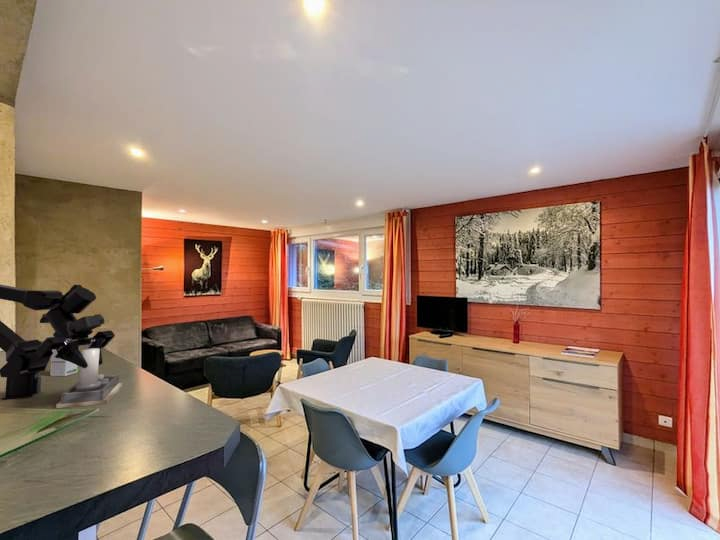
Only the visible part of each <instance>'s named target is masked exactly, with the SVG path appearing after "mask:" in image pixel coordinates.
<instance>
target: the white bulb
mask: <svg viewBox="0 0 720 540" xmlns="http://www.w3.org/2000/svg"><path fill="white" fill-rule="evenodd" d="M99 353H100V349H99V348H89V349H86V348H83V349H82V350H81V354H82V356H83V357H84V359H85V360H86V362H87V365H88V366H87V367H86V368H82V367H80V370H79V371H80V374H79V381H80V383H78V382H76V383H77V384H76V383H75V384H76V389H75V391H79V392H84V391H92V390H96V389H99V388H100V387H101V381H98V374H99V366H100V365H99Z"/></svg>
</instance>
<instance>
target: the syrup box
mask: <svg viewBox="0 0 720 540" xmlns="http://www.w3.org/2000/svg"><path fill="white" fill-rule="evenodd" d="M51 337H54V336H53V335H52V336H51ZM78 349H79V351H80V352H81V346H78ZM52 352H53V354H52V356H51V357H50V377H67V376H70V375H74V374H78V373H79V371H80V366H78V365H76V364H73V363H71V362H69V361H66V360H63V359H60V358H55V356H56V355H57V354H58V353H57V350H56V349H54V350H52Z"/></svg>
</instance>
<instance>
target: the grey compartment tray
mask: <svg viewBox="0 0 720 540" xmlns="http://www.w3.org/2000/svg"><path fill="white" fill-rule="evenodd" d="M98 381H101V387H100V388H99V389H96V390H92V391H84V392H79V391H75V389H76V384H77V383H80V380H79V381H78V382H76V383H75V384H74V385H72V386H71V387H70V388H68V389H67V390H66V391H64V392H63V393H61V398H60V401H58V403H56V404H55V405H56V407H55V408H56V409H63V408H72V407H75V408H76V407H85V406H95V405H105V404H106V403H107V404H108V403H109V402H110V400H112V398H113V397H114V396H115V395H114V394H116V393H117V392H118V391H119V390H120V389H121V388H122V386H123V382H120V375H116V374H115V375H106V376H105V374H103V373H98ZM120 387H121V388H120ZM119 388H120V389H119Z"/></svg>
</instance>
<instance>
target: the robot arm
mask: <svg viewBox="0 0 720 540" xmlns="http://www.w3.org/2000/svg"><path fill="white" fill-rule="evenodd" d="M96 299H97V296H96V294H95V293H94V292H93V291H91V290H89V289H88V288H85V287H84V286H82V285H81V284H73V285H71V287H70V289H69V290H68V291H67V292H66V293H64V294H63V292H62V291H60V290H55V289H53V290H34V289H33V290H32V289H27V288H22V287H16V286H11V285H6V284H0V300H4V301H9V302H15V303H19V304H22V306H24V307H25V308H28V309H30V310H33V311H47V312H46V313H43V314H42V316H41V318H40V319H39V324H50V326H51V327H52V329H53V330H54V332H53V333H52V336H54V337H52V336H51V337H49V336H48V337H46V338H45V339H44V340H43V341H42V342H41V340H39V339H31V340H25V339H23V338H22V336H20V335H19V334H17V332H15V331H14V330H12V328H10V327H9V326H7V324H5V323H4V322H3V321H2V320H0V349H1V350H2V351H3V352H5V361H6V362H5V364H4V365H3V366H2V367H1V368H0V378H6V383H5V395H4V396H3V397H1V400H11V399H24V398H32V397H34V396H35V395H37V394H38V393H40V392H41V388H42V387H41V386H42V377H41V376H40V372H44V371H45V370H46V369H47V366H48V364H49V362H50V361H51V356H52V354H53V352H52V350H54V349H56V350H57V353H58V354H57V355H56V356H55V358H60V359H63V360H66V361H69V362H71V363H73V364H76V365H78V366H79V368H81V367H82V368H86V367H87V366H88V365H87V362H86V360H85V359H84V357H83V356H82V351H81V350H80V351H79V349H78V346H80V347H85V349H89V348H99V349H100V353H99V366H101V365H102V364H103V357H102V356H103V355H102V349H104V348H105V347H106V346H107V345H108V344H109V343H110V342H112V340H113V339H114V338H115V337H116V334H115V332H113V331H112V330H109V329H108V330H100V331H97V332H96V333H95V334H94V336H90V335H92V334H93V332H94V331H93V330H95V329H97V328H100V327H101V326H102V325H103V324H105V318H104V316H102V314H99V313H98V314H97V313H96V314H94V315H87V316H83V317H80V318H77V317H76V316H75V315H74V314H81V313H82V312H84V311H85V310H86V309H87V308H88V307H89V306H90V305H91V304H92V303H93V302H95V301H96Z"/></svg>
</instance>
